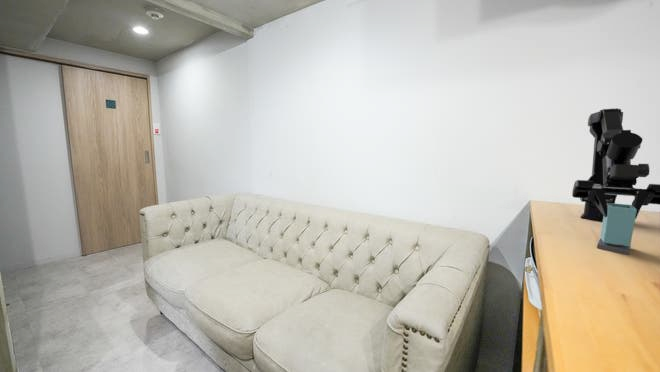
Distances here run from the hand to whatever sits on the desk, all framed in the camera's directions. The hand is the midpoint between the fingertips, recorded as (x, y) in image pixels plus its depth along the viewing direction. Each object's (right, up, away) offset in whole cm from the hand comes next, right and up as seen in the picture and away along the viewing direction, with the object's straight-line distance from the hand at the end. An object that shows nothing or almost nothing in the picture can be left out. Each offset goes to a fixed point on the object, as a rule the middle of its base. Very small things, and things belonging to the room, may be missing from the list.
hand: (619, 217), depth 73 cm
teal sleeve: (+1, -7, +2) cm, 7 cm away
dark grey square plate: (+1, -9, +3) cm, 9 cm away
